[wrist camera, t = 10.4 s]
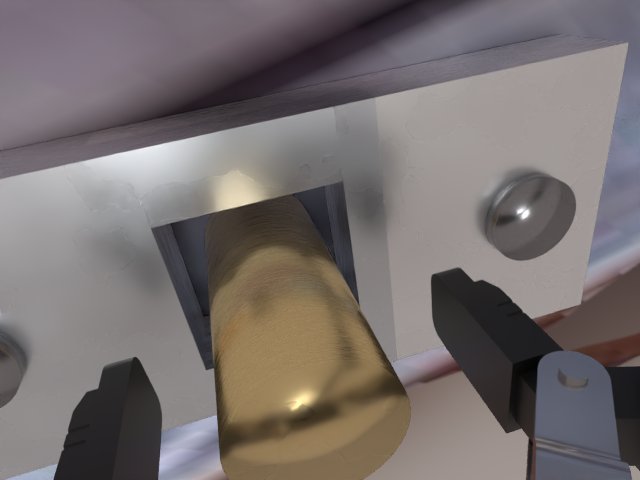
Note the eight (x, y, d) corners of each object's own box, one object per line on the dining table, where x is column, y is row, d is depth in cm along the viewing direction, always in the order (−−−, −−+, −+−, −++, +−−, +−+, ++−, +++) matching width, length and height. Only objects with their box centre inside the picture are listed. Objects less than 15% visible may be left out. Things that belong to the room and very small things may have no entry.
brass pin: (302, 174, 16) (406, 338, 9) (319, 266, 18) (414, 465, 11) (190, 201, 16) (194, 402, 8) (220, 293, 18) (245, 524, 10)
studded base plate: (559, 34, 16) (645, 44, 13) (533, 266, 21) (591, 312, 18) (-200, 192, 13) (-323, 256, 10) (-14, 423, 18) (-57, 512, 15)
